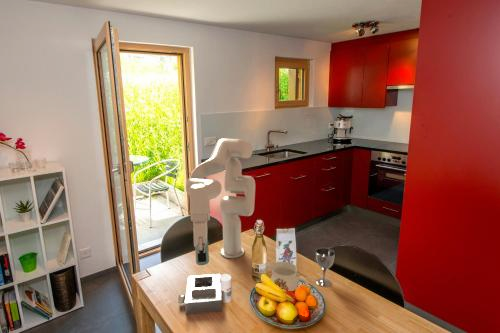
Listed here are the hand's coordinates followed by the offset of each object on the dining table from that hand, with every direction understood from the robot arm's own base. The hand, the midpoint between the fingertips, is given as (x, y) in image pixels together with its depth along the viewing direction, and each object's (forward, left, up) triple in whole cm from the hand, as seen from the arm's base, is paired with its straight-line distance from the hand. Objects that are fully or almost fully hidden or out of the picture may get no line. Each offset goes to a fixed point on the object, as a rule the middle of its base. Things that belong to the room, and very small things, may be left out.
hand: (202, 257), depth 125 cm
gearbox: (0, -1, -19) cm, 19 cm away
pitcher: (+4, +34, -19) cm, 39 cm away
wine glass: (-4, +53, -19) cm, 56 cm away
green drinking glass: (0, 0, -2) cm, 2 cm away
